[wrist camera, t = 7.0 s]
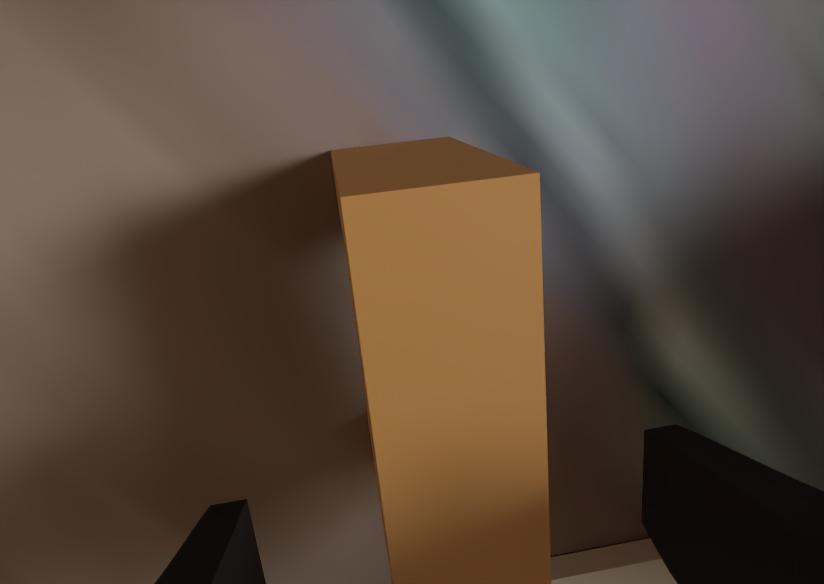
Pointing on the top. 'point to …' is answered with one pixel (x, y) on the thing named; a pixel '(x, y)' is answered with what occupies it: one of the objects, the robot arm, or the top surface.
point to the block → (451, 356)
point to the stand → (612, 565)
